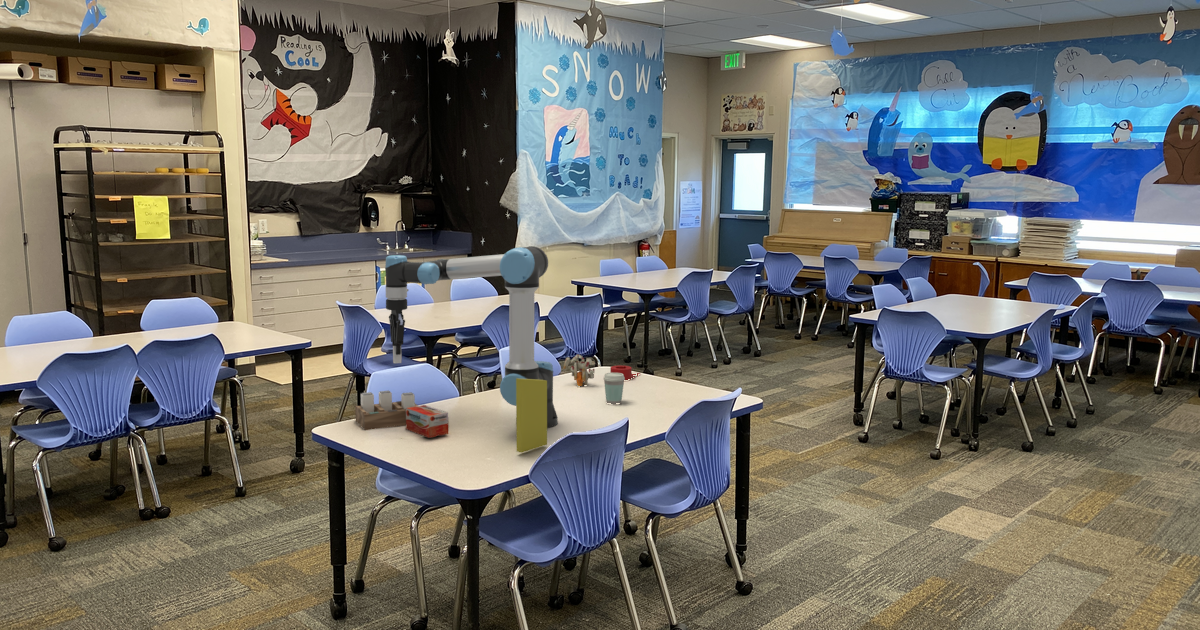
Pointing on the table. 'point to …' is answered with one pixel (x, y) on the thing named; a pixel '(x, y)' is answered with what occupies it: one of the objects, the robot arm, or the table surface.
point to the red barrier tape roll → (623, 371)
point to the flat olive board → (531, 414)
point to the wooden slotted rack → (381, 417)
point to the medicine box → (427, 421)
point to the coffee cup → (614, 387)
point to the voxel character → (583, 374)
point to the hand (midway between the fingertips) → (397, 362)
